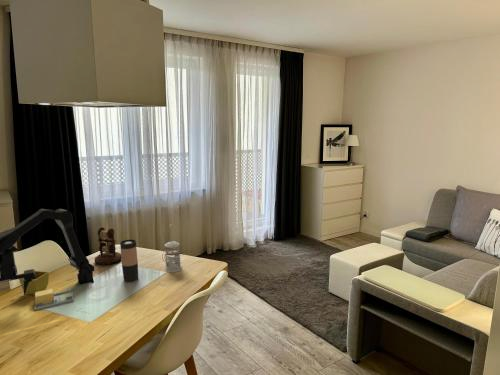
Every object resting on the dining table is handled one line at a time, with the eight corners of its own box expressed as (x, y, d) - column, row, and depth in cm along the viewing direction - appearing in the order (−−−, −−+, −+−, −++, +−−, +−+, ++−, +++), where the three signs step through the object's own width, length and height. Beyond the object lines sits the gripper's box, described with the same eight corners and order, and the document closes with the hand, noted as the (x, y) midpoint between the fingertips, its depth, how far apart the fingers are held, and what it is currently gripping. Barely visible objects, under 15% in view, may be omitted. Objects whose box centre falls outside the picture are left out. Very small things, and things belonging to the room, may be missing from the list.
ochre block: (54, 296, 159) (53, 288, 159) (54, 301, 155) (53, 292, 154) (36, 300, 156) (35, 292, 155) (36, 305, 152) (35, 296, 151)
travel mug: (119, 281, 175) (116, 243, 172) (130, 275, 182) (127, 238, 179) (131, 283, 172) (128, 245, 169) (142, 277, 179) (139, 240, 176)
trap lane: (72, 292, 164) (72, 289, 164) (74, 302, 155) (73, 299, 154) (35, 300, 157) (34, 297, 156) (34, 312, 147) (34, 309, 147)
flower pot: (37, 298, 159) (34, 279, 158) (20, 296, 161) (18, 278, 159) (51, 289, 168) (49, 271, 166) (36, 287, 169) (33, 270, 168)
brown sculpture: (127, 258, 206) (124, 225, 202) (109, 267, 192) (106, 233, 189) (107, 255, 211) (104, 223, 207) (88, 264, 197) (85, 230, 194)
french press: (186, 267, 191) (184, 223, 187) (171, 274, 182) (168, 229, 177) (173, 263, 197) (170, 221, 192) (157, 270, 187) (154, 226, 182)
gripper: (33, 252, 157) (37, 284, 160) (-18, 261, 148) (-13, 295, 151) (32, 260, 148) (37, 294, 151) (-23, 270, 139) (-16, 306, 141)
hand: (12, 297), depth 149 cm, fingers open, 9 cm apart
